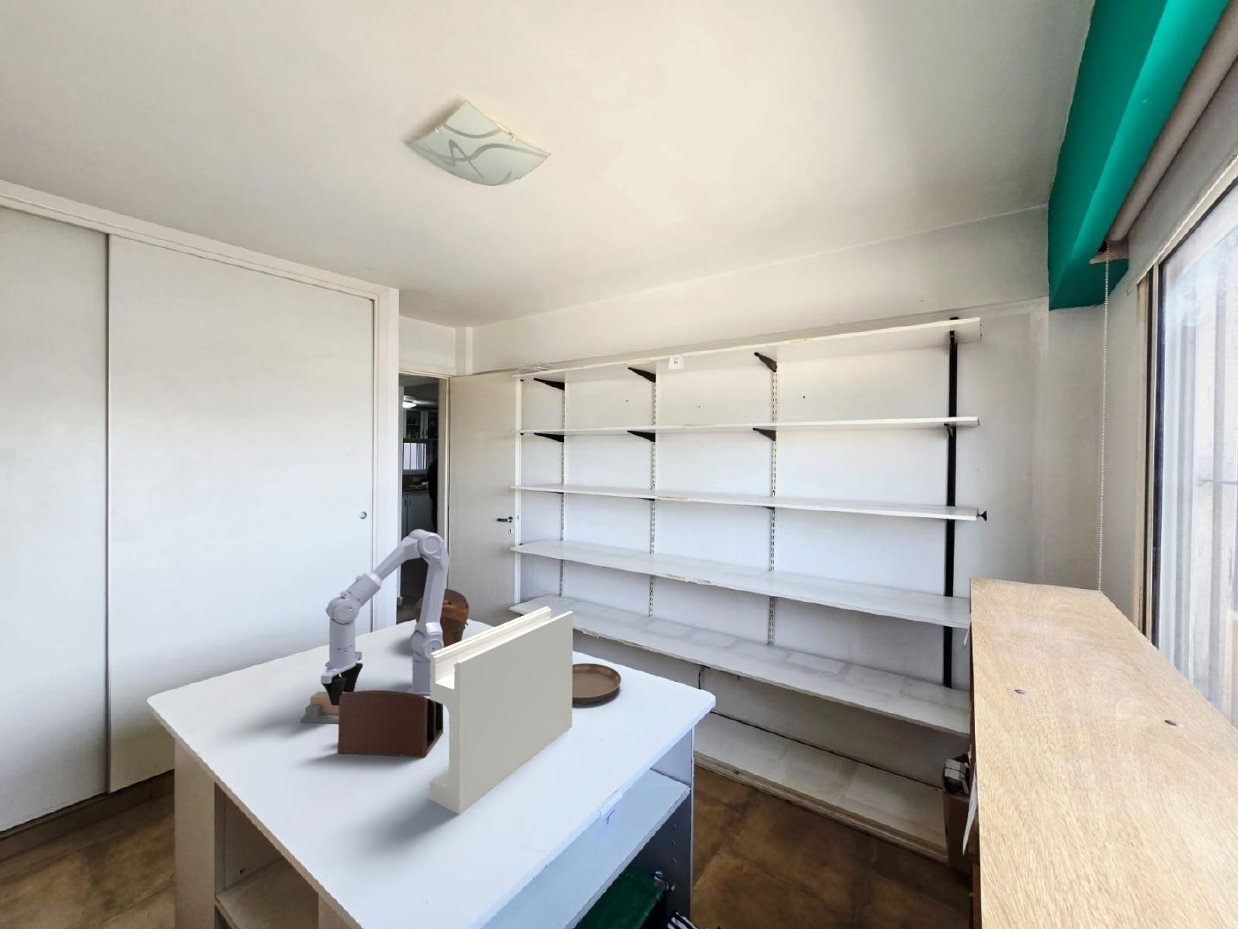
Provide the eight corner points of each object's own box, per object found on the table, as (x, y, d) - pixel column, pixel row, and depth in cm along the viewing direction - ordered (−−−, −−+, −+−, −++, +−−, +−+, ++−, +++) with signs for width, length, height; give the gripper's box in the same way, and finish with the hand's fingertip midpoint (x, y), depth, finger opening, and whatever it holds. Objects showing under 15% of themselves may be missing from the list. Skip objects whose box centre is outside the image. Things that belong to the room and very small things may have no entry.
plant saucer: (588, 716, 128) (588, 703, 128) (531, 692, 141) (531, 681, 141) (635, 687, 145) (635, 675, 145) (581, 668, 157) (581, 657, 157)
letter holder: (425, 758, 110) (425, 694, 110) (336, 754, 111) (336, 690, 111) (444, 733, 120) (444, 674, 120) (362, 730, 121) (362, 671, 121)
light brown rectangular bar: (372, 708, 129) (372, 693, 129) (366, 714, 126) (366, 698, 126) (318, 707, 129) (317, 691, 129) (310, 713, 126) (310, 697, 126)
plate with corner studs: (382, 707, 131) (382, 694, 131) (365, 724, 123) (365, 710, 123) (321, 706, 132) (321, 692, 132) (300, 722, 124) (300, 708, 124)
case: (438, 662, 159) (439, 605, 159) (400, 649, 170) (400, 595, 170) (482, 646, 174) (483, 593, 174) (444, 634, 185) (445, 585, 185)
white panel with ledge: (459, 814, 93) (459, 663, 92) (429, 799, 97) (430, 653, 96) (571, 726, 123) (572, 611, 122) (545, 717, 127) (546, 606, 127)
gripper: (343, 634, 134) (343, 685, 135) (308, 656, 120) (308, 713, 120) (369, 635, 134) (369, 686, 135) (337, 657, 120) (337, 714, 120)
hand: (342, 699), depth 127 cm, fingers open, 5 cm apart
